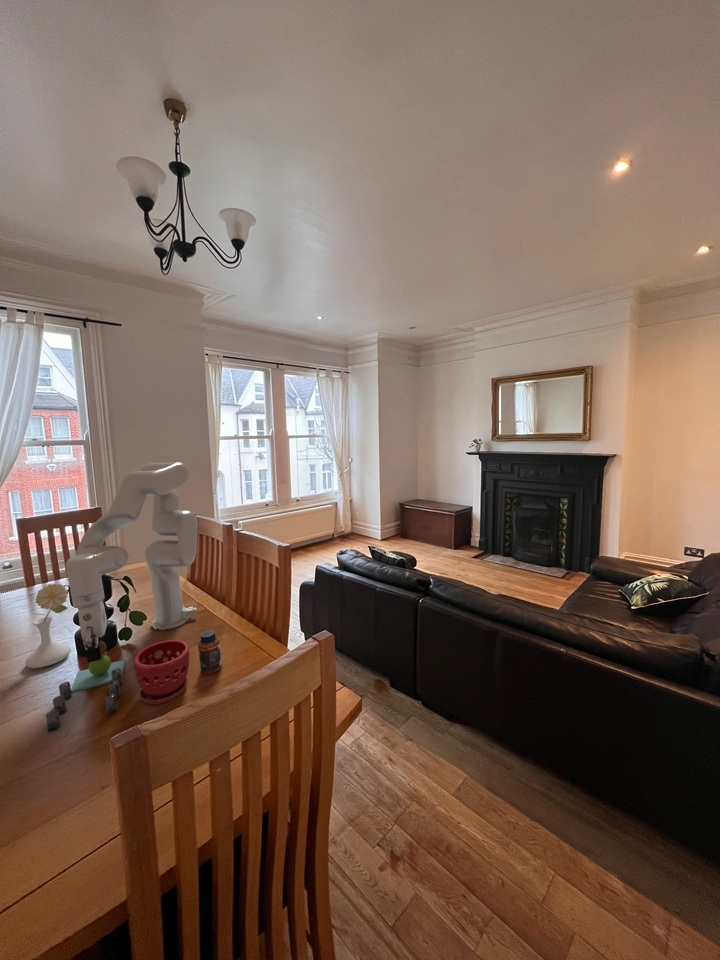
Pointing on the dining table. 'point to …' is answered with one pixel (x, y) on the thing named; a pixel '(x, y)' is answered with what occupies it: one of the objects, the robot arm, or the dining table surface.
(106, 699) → the spacer posts
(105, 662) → the snail figurine
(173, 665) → the plant pot
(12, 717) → the dining table surface
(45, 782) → the dining table surface
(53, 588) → the flower in vase
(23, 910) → the dining table surface
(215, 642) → the supplement bottle
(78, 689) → the teal mat
